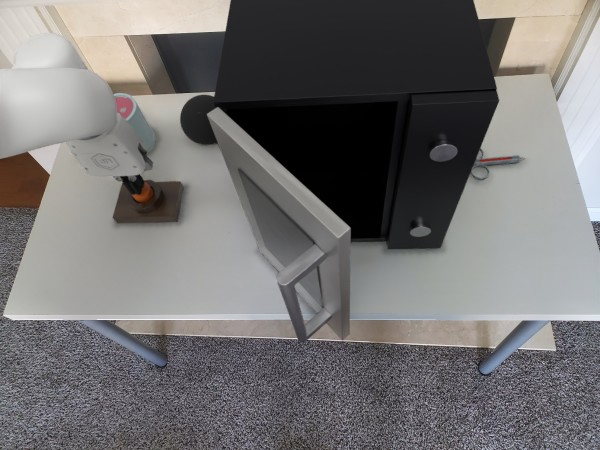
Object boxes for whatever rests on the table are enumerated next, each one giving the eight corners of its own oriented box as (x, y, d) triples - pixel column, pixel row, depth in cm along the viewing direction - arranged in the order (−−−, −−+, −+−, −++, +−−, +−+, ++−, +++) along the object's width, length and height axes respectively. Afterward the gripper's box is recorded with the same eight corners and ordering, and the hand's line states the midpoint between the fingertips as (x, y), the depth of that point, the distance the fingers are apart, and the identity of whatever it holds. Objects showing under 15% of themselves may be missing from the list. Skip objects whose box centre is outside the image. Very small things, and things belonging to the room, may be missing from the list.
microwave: (440, 253, 76) (501, 104, 46) (262, 255, 79) (210, 118, 49) (421, 120, 91) (458, -58, 61) (272, 126, 94) (237, -40, 64)
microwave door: (315, 365, 69) (289, 278, 39) (234, 271, 78) (162, 142, 48) (349, 334, 71) (351, 227, 41) (266, 246, 80) (217, 106, 50)
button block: (177, 222, 84) (170, 211, 81) (117, 223, 86) (107, 212, 82) (184, 187, 88) (177, 175, 85) (126, 189, 90) (117, 177, 86)
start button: (151, 202, 83) (147, 197, 81) (132, 203, 83) (128, 198, 82) (155, 186, 85) (151, 181, 83) (136, 187, 85) (133, 182, 83)
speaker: (185, 126, 97) (170, 91, 88) (230, 114, 97) (218, 78, 89) (192, 160, 92) (176, 127, 83) (239, 147, 92) (228, 113, 84)
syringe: (538, 177, 82) (542, 171, 80) (440, 185, 83) (441, 180, 82) (526, 144, 86) (529, 138, 84) (432, 153, 87) (433, 147, 85)
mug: (164, 134, 96) (145, 100, 87) (137, 166, 92) (115, 133, 84) (116, 116, 100) (94, 82, 92) (89, 145, 97) (64, 112, 88)
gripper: (32, 138, 65) (94, 206, 80) (130, 134, 63) (174, 204, 79) (48, 101, 68) (104, 173, 84) (141, 96, 67) (181, 170, 83)
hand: (138, 188), depth 81 cm, fingers closed
